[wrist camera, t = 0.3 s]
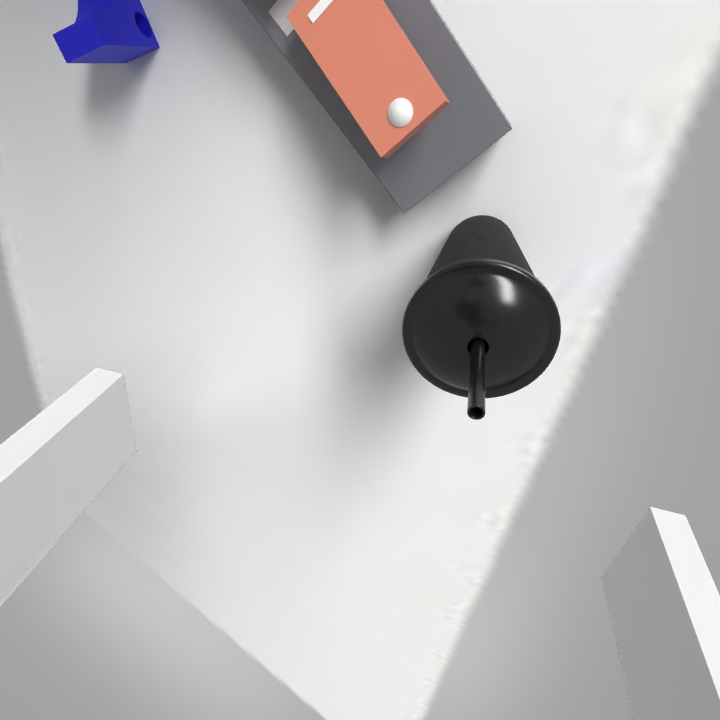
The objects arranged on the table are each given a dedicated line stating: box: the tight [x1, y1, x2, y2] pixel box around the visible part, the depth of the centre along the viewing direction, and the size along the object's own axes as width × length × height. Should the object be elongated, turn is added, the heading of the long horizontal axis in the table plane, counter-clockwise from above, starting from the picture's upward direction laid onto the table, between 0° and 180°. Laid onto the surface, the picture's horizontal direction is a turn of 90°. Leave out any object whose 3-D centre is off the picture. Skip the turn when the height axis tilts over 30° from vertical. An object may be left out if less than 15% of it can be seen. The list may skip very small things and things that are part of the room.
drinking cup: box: [402, 215, 561, 420], centre depth 27 cm, size 8×8×20 cm
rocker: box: [286, 0, 450, 158], centre depth 26 cm, size 9×4×2 cm, turn 38°
